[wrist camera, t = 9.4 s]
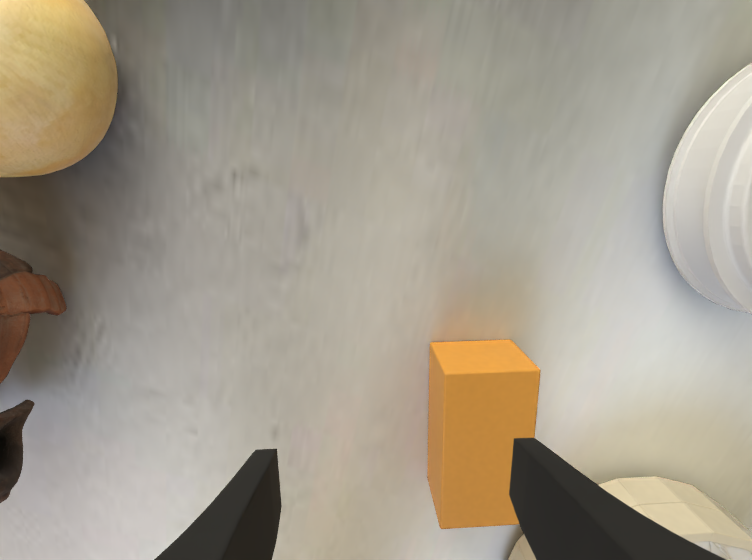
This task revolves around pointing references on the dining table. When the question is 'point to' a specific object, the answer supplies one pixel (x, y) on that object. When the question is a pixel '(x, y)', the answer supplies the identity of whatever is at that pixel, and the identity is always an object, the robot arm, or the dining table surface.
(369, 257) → the dining table surface
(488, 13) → the dining table surface
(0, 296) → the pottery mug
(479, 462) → the orange rectangular block
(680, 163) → the lid
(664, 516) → the bowl
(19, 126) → the onion
